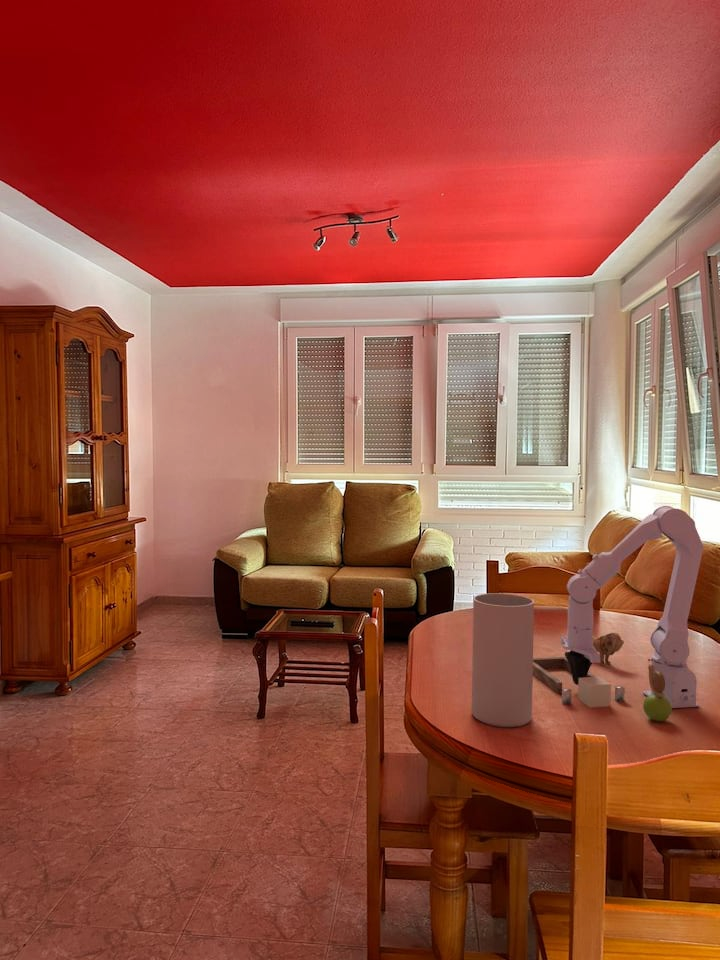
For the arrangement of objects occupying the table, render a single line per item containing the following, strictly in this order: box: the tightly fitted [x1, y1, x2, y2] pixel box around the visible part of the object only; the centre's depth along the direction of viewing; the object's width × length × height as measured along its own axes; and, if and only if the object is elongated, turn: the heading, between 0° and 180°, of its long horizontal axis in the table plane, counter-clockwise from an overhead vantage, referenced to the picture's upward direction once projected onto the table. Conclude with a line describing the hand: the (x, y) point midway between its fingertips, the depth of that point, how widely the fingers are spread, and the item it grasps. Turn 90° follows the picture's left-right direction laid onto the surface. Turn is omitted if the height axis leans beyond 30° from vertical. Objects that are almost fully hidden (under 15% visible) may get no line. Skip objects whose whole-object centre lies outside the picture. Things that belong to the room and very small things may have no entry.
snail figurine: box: [642, 658, 673, 722], centre depth 135 cm, size 5×6×12 cm
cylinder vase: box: [471, 592, 535, 728], centre depth 135 cm, size 12×12×25 cm
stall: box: [533, 656, 597, 694], centre depth 159 cm, size 18×11×2 cm, turn 10°
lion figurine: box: [593, 632, 625, 667], centre depth 174 cm, size 15×5×9 cm, turn 33°
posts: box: [561, 685, 626, 706], centre depth 144 cm, size 2×15×3 cm, turn 100°
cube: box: [577, 676, 612, 708], centre depth 144 cm, size 5×5×5 cm
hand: (579, 683), depth 151 cm, fingers closed
